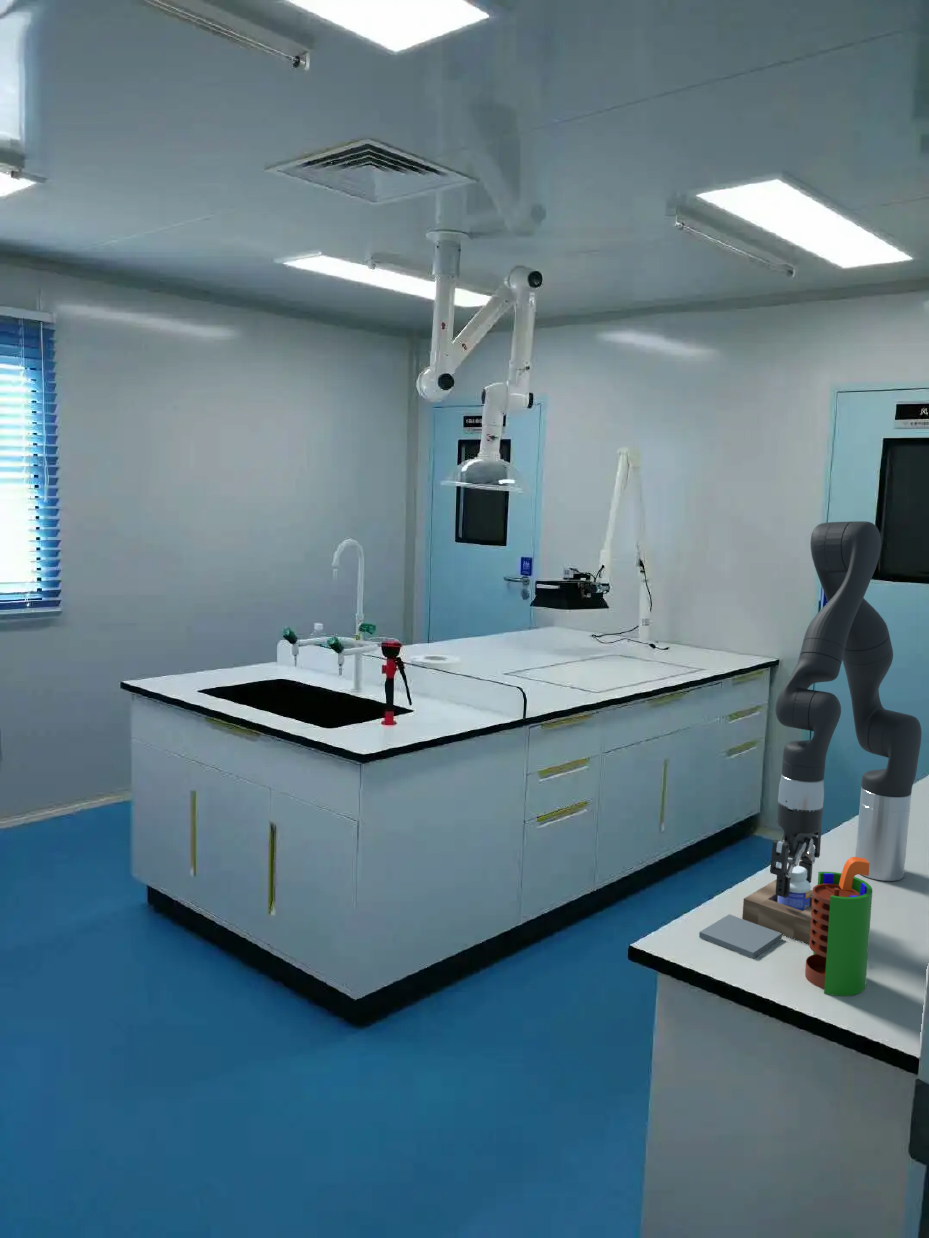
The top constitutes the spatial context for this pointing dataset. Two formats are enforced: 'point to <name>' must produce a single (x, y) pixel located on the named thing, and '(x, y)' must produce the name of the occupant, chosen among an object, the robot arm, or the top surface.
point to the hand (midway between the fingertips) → (793, 889)
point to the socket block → (777, 913)
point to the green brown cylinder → (840, 930)
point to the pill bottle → (797, 890)
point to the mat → (740, 936)
